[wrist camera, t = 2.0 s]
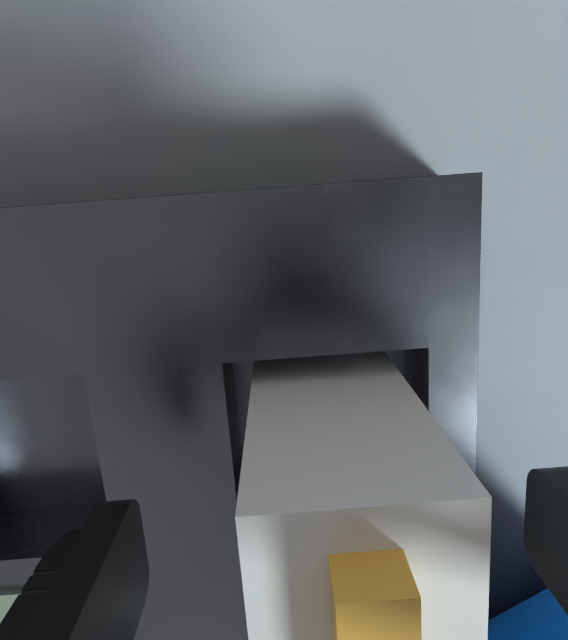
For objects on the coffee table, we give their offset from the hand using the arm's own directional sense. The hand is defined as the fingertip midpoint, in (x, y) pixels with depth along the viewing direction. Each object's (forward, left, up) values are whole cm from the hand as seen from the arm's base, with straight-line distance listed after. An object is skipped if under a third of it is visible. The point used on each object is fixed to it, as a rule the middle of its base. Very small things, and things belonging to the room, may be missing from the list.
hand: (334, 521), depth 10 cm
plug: (0, 0, -6) cm, 6 cm away
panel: (+4, 0, -6) cm, 8 cm away
